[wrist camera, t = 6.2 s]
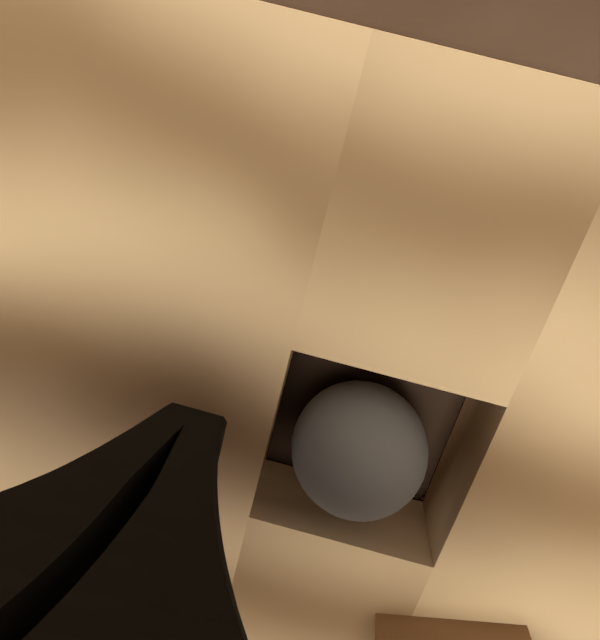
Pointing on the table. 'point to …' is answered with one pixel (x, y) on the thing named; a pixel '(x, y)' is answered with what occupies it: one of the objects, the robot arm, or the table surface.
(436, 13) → the table surface
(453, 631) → the walnut cube
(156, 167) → the deck
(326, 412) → the ball
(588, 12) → the table surface
